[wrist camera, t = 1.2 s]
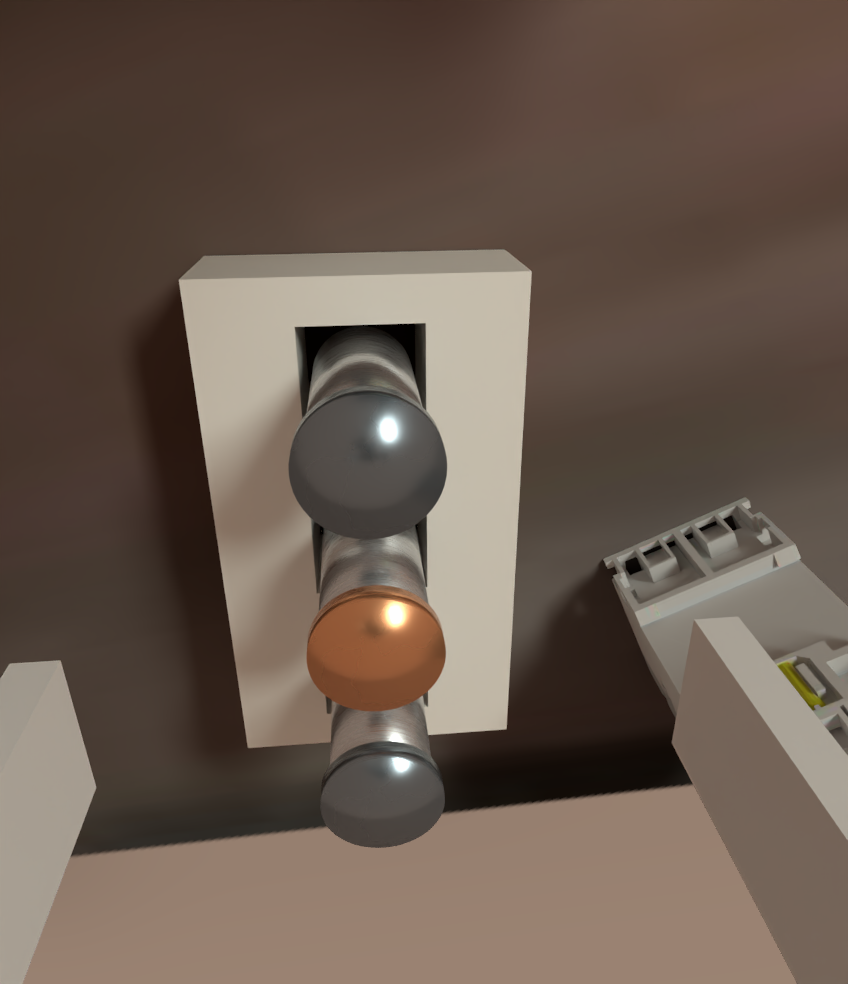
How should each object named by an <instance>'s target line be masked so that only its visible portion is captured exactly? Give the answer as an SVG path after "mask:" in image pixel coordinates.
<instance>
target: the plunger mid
mask: <svg viewBox="0 0 848 984" xmlns="http://www.w3.org/2000/svg"><path fill="white" fill-rule="evenodd" d="M445 659H446V647H445V641H444V636H443V631H442V626H441V623H440V621H439V618H438V616H437V615H436V613H435V611H434V610H433V609H432V608H431V606H430V605H429V603H428V597H427V591H426V586H425V580H424V574H423V568H422V562H421V556H420V550H419V544H418V539H417V533H416V527H415V525H414V526H413V527H411V528H410V529H408V530H406V531H404V532H401V533H399V534H396V535H393V536H390V537H386V538H381V539H372V540H368V539H354V538H349V537H344V536H341V535H338V534H335V533H333V532H331V531H329V530H327V529H325V528H323V545H322V563H321V580H320V598H319V612H318V614H317V615H316V617H315V618H314V620H313V622H312V624H311V627H310V630H309V634H308V642H307V667H308V671H309V674H310V677H311V679H312V680H313V682H314V684H315V685H316V686H317V688H318V689H319V690H320V691H321V692H322V693H323V694H324V695H325V696H327V697H328V698H329V699H331V700H332V701H334V702H336V703H338V704H340V705H342V706H345V707H348V708H351V709H355V710H360V711H386V710H391V709H396V708H399V707H402V706H405V705H407V704H409V703H411V702H413V701H415V700H417V699H418V698H420V697H421V696H423V695H424V694H425V693H426V692H427V691H428V690H430V689H431V688H432V686H433V685H434V684H435V683H436V681H437V680H438V678H439V677H440V675H441V673H442V670H443V668H444V664H445Z"/></svg>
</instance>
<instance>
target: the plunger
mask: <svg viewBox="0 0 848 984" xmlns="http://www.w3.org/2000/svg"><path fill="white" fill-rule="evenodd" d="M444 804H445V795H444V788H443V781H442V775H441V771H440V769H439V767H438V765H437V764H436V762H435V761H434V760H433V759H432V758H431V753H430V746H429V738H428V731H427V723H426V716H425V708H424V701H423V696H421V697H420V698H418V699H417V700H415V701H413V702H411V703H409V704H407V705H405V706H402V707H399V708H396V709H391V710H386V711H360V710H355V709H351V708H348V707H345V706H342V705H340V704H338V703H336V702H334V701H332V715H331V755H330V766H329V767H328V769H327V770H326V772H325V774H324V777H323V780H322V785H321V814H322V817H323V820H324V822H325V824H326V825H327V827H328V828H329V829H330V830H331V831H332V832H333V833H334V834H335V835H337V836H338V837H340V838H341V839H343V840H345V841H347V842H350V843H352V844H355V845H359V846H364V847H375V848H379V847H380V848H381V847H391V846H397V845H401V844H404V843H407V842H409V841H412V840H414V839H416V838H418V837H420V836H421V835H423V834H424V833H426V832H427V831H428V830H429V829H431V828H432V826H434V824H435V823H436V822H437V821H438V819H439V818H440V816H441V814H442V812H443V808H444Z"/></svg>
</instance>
